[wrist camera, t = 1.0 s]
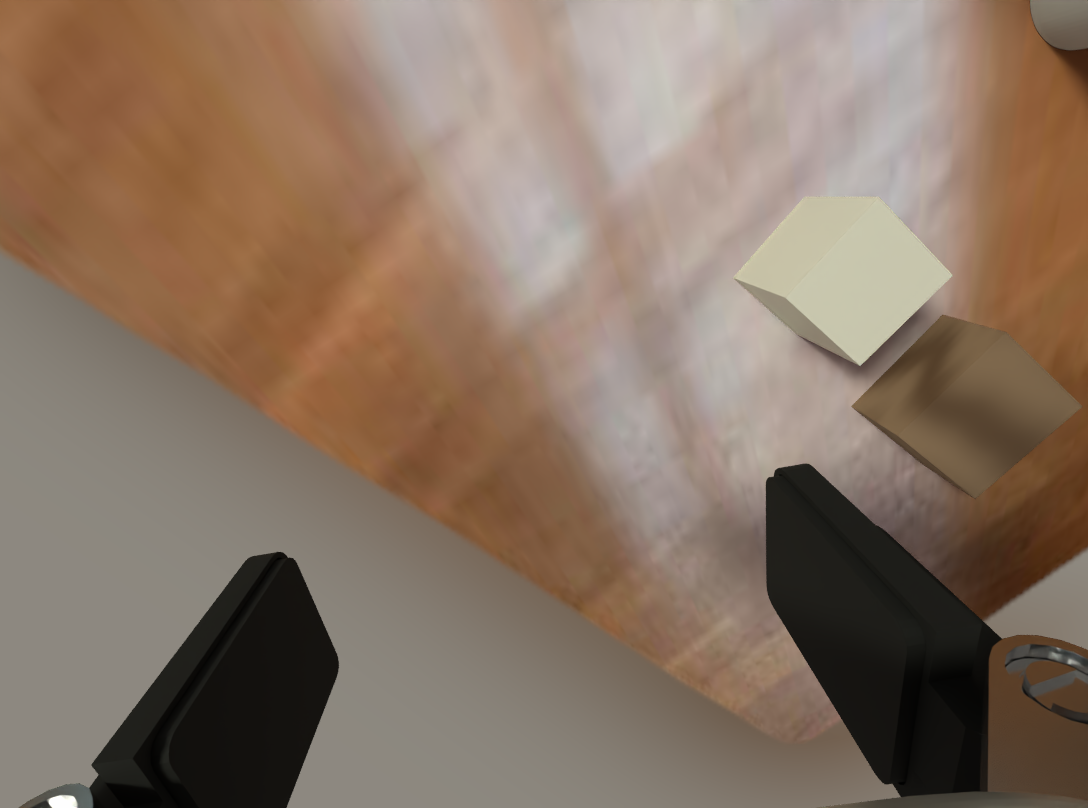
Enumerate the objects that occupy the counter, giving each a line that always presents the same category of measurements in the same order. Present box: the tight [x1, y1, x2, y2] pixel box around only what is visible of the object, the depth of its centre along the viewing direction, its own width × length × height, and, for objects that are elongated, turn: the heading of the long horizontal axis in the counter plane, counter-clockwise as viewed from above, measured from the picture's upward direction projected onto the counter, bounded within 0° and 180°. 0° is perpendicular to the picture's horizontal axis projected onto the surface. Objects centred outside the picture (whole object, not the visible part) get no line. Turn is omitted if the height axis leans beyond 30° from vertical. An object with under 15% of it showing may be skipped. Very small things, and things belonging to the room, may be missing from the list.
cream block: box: [733, 197, 953, 366], centre depth 29 cm, size 6×6×7 cm
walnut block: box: [851, 315, 1082, 499], centre depth 34 cm, size 8×8×5 cm
